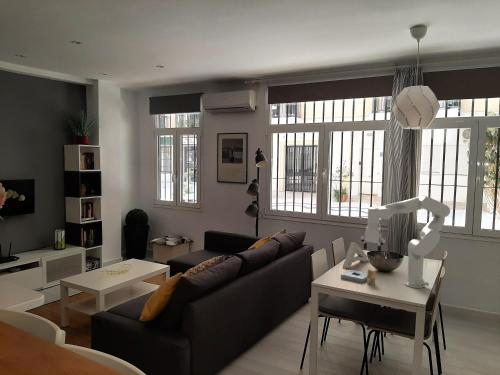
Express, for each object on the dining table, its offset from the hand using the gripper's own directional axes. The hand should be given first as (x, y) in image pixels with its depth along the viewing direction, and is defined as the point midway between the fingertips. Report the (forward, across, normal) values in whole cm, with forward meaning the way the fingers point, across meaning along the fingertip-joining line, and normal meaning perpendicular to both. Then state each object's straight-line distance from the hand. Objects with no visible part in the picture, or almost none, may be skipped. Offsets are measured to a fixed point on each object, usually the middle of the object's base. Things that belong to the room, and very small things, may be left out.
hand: (372, 250), depth 268 cm
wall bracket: (+24, +28, -40) cm, 55 cm away
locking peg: (+23, 0, 0) cm, 23 cm away
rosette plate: (+23, +13, -4) cm, 27 cm away
